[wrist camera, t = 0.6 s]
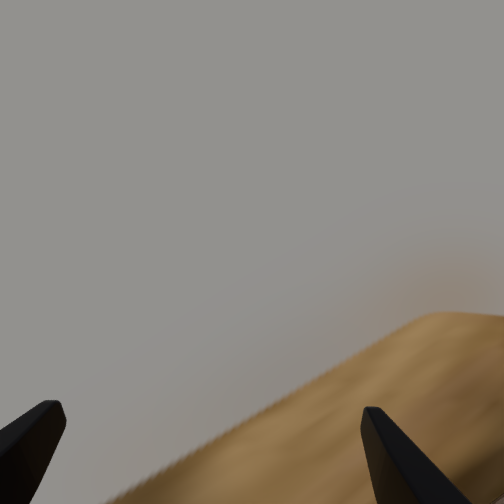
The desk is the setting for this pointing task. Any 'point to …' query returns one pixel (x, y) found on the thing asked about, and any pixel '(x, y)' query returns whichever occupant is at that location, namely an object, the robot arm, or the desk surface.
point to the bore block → (499, 500)
